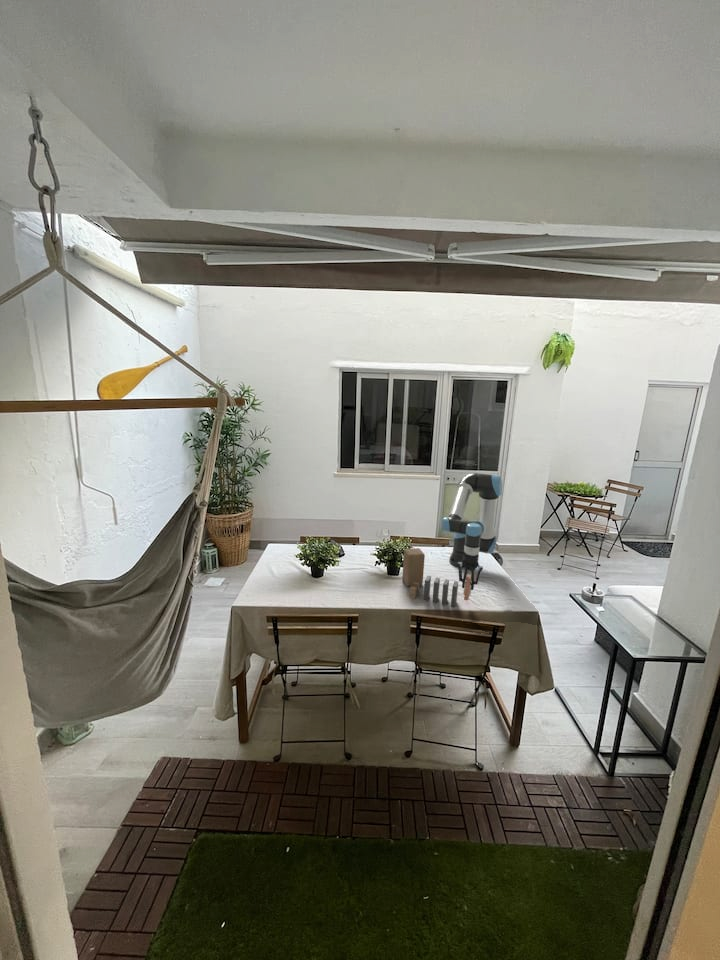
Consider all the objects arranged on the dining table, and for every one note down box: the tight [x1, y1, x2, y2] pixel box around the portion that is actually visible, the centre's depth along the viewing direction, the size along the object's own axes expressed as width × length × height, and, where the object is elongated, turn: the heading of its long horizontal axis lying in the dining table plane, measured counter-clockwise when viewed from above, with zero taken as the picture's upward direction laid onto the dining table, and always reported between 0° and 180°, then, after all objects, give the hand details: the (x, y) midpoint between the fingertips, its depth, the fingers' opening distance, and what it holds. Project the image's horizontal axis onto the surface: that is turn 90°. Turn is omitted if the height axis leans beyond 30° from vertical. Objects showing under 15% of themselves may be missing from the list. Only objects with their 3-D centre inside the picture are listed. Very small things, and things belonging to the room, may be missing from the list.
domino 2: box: [431, 577, 441, 604], centre depth 223 cm, size 2×6×12 cm, turn 157°
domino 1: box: [423, 575, 432, 602], centre depth 225 cm, size 2×6×12 cm, turn 157°
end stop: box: [409, 582, 420, 600], centre depth 228 cm, size 8×3×6 cm, turn 157°
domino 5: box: [463, 573, 471, 602], centre depth 215 cm, size 2×6×12 cm, turn 157°
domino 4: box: [450, 580, 459, 608], centre depth 219 cm, size 2×6×12 cm, turn 157°
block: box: [402, 547, 425, 587], centre depth 241 cm, size 10×10×20 cm
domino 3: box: [441, 578, 450, 606], centre depth 221 cm, size 2×6×12 cm, turn 157°
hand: (467, 594), depth 216 cm, fingers closed on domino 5, 2 cm apart
